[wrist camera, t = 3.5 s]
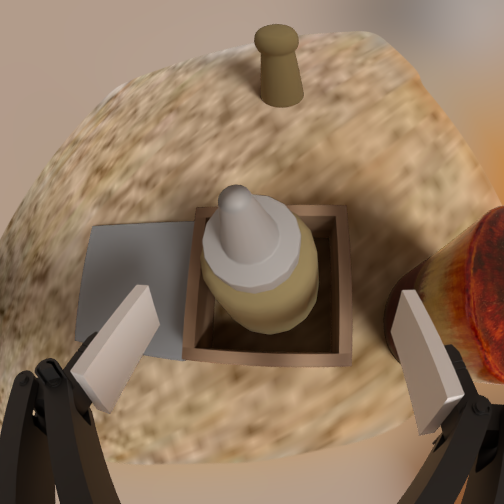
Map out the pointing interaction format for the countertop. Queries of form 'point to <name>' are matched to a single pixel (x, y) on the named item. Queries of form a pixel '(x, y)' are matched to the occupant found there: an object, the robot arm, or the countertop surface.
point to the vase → (464, 296)
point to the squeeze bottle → (259, 261)
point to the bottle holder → (200, 349)
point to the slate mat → (137, 278)
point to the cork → (279, 65)
